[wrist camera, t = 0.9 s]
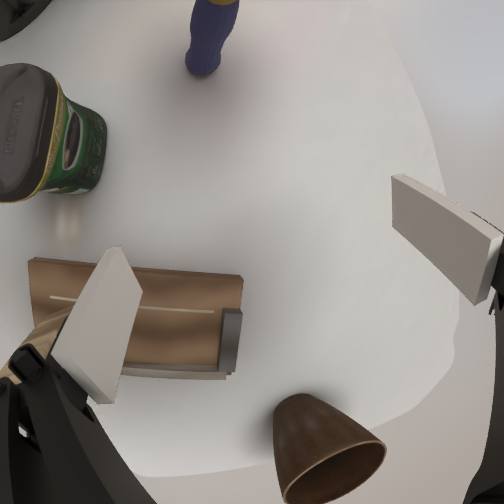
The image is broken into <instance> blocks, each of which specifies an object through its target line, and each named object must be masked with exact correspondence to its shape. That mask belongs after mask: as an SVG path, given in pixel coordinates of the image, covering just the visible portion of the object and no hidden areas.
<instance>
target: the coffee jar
mask: <svg viewBox="0 0 504 504" xmlns="http://www.w3.org/2000/svg"><path fill="white" fill-rule="evenodd" d="M105 146H106V124H105V121H104V119H103V118H102V117H101V116H100V115H99V114H98V113H96V112H94V111H93V110H91V109H88V108H86V107H84V106H81V105H79V104H77V103H75V102H73V101H71V100H69V99H68V98H67V97H66V96H65V95H64V93H63V91H62V89H61V87H60V84H59V83H58V81H57V80H56V78H55V77H54V76H53V75H52V74H51V73H49V72H47V71H45V70H43V69H41V68H39V67H37V66H34V65H31V64H26V63H15V64H9V65H4V66H0V203H15V202H20V201H23V200H26V199H29V198H31V197H32V196H34V195H35V194H36V193H37V192H39V191H40V192H48V193H54V194H62V195H73V194H81V193H85V192H87V191H89V190H91V189H92V188H93V187H94V186H95V185H96V183H97V182H98V180H99V177H100V173H101V170H102V165H103V160H104V154H105Z"/></svg>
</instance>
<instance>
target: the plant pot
mask: <svg viewBox="0 0 504 504" xmlns="http://www.w3.org/2000/svg"><path fill="white" fill-rule="evenodd" d="M273 445H274V457H275V464H276V471H277V476H278V481H279V485H280V489H281V493H282V497H283V500H284V502H285V503H286V504H325V503H328V502H330V501H333V500H336V499H338V498H340V497H342V496H344V495H346V494H348V493H349V492H351V491H352V490H354V489H356V488H357V487H358V486H360V485H361V484H363V483H364V482H365V481H366V480H367V479H368V478H370V477H371V476H372V475H373V474H374V473H375V472H376V471H377V469H378V468H379V467H380V465H381V464H382V462H383V461H384V458H385V456H386V452H387V448H386V445H385V444H384V443H383V442H382V441H380V440H379V439H378V438H377V437H375V436H374V435H373V434H372V433H370V432H369V431H368V430H367V429H365V428H364V427H363V426H361V425H360V424H358V423H357V422H356V421H354V420H353V419H351V418H350V417H348V416H347V415H345V414H344V413H342V412H341V411H339V410H337V409H336V408H334V407H332V406H331V405H329V404H327V403H325V402H323V401H321V400H319V399H317V398H315V397H313V396H311V395H308V394H297V395H294V396H291V397H289V398H287V399H286V400H284V401H283V402H281V403H280V404H279V406H278V407H277V408H276V410H275V413H274V421H273Z"/></svg>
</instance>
